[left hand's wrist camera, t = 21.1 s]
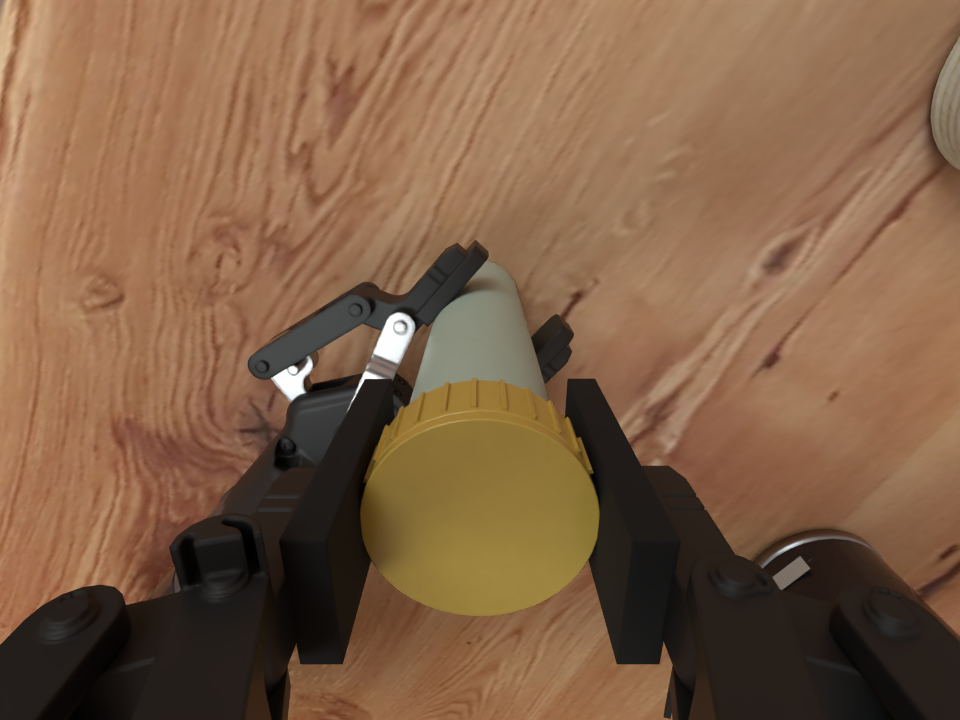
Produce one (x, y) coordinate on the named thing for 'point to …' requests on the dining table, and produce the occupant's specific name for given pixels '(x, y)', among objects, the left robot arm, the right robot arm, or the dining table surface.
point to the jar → (481, 338)
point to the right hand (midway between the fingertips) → (522, 288)
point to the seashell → (948, 109)
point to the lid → (479, 500)
